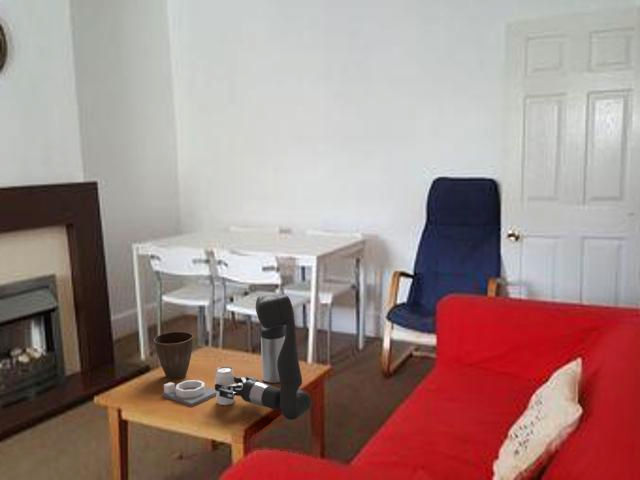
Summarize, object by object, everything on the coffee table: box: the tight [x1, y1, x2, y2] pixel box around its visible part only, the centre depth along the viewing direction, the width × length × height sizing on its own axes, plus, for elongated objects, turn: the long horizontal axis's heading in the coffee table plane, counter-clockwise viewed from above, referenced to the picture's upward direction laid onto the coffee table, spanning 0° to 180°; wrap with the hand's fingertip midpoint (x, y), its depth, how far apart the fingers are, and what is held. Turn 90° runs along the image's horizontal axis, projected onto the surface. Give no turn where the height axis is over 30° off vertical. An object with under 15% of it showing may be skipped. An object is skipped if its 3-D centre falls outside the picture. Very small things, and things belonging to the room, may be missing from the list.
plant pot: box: [153, 331, 194, 381], centre depth 242 cm, size 15×15×16 cm
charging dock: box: [161, 379, 216, 407], centre depth 224 cm, size 13×16×4 cm
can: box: [214, 366, 236, 406], centre depth 217 cm, size 6×6×12 cm
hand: (224, 382), depth 217 cm, fingers open, 8 cm apart
